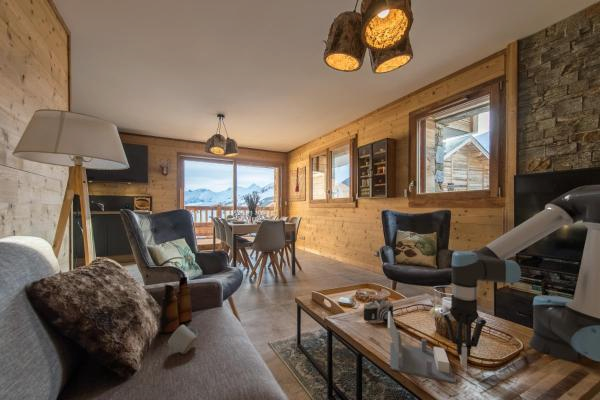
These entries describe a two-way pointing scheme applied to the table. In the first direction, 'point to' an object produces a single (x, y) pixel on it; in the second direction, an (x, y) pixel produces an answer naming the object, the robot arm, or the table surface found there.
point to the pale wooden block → (441, 359)
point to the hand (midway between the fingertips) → (463, 364)
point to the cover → (393, 332)
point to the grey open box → (418, 362)
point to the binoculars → (175, 307)
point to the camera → (377, 311)
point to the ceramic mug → (183, 339)
